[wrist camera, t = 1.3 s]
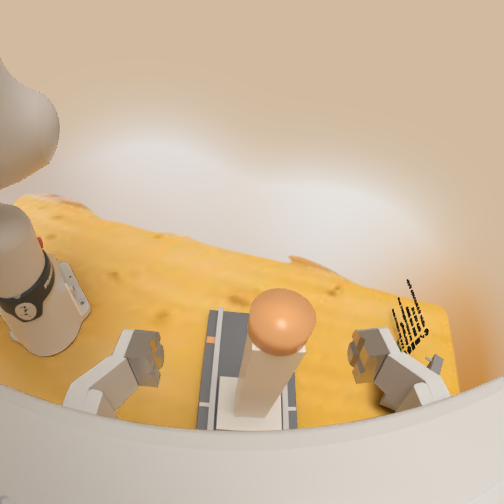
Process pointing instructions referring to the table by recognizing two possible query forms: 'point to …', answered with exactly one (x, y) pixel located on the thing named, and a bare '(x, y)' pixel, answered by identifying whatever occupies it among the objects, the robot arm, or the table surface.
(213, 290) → the table surface
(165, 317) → the table surface
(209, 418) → the slider track
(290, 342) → the slider handle
